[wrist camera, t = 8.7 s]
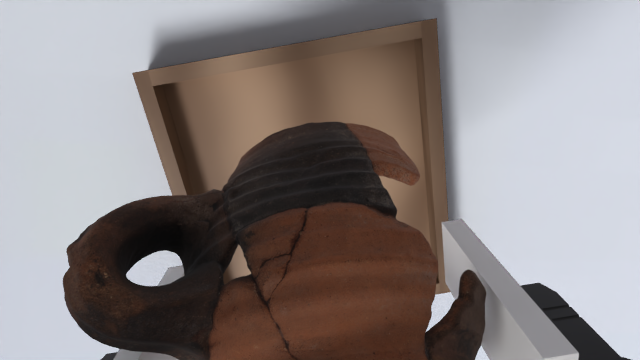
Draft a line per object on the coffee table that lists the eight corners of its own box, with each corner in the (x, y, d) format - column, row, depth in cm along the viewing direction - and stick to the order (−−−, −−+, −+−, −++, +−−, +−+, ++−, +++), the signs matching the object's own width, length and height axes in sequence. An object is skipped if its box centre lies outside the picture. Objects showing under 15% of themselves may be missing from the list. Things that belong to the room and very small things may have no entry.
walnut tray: (222, 310, 27) (216, 330, 25) (147, 70, 21) (132, 73, 19) (442, 273, 27) (452, 291, 25) (424, 20, 21) (436, 18, 19)
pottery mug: (478, 131, 14) (619, 383, 9) (361, 258, 20) (401, 446, 15) (102, 36, 9) (-71, 427, 4) (107, 236, 16) (39, 488, 11)
